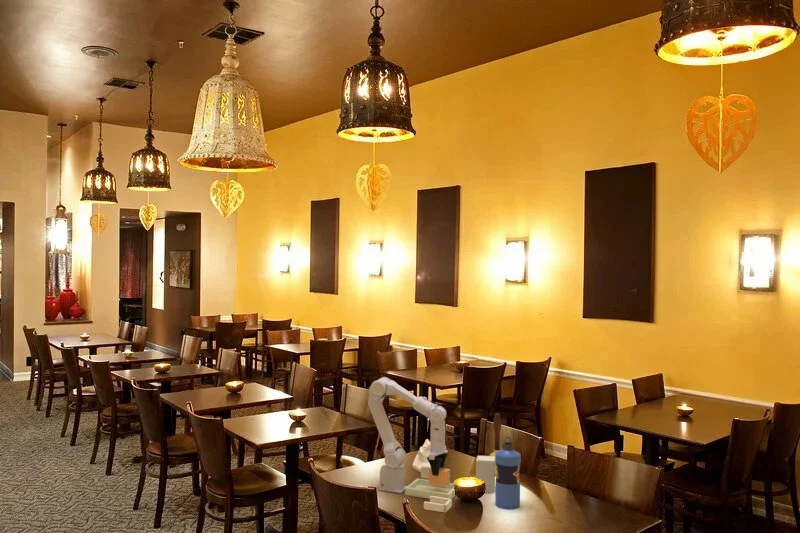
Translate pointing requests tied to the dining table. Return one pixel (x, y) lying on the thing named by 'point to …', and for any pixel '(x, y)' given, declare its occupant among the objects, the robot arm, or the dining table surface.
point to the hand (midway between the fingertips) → (437, 473)
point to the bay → (438, 504)
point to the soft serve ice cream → (422, 456)
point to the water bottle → (507, 476)
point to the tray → (429, 489)
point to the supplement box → (486, 471)
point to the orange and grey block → (440, 480)
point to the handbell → (496, 435)
